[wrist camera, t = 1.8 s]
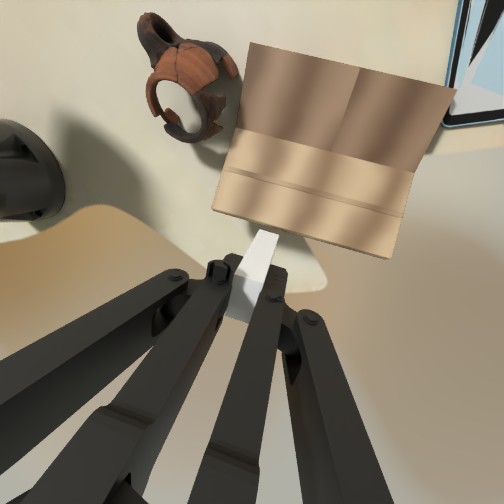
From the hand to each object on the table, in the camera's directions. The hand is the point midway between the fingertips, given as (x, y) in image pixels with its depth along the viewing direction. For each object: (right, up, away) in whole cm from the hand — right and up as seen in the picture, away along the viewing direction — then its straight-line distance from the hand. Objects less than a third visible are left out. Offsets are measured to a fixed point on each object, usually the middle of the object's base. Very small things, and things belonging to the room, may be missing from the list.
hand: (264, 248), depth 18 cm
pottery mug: (-7, +20, +11) cm, 24 cm away
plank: (+6, +7, +11) cm, 14 cm away
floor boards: (+8, +16, +10) cm, 20 cm away
